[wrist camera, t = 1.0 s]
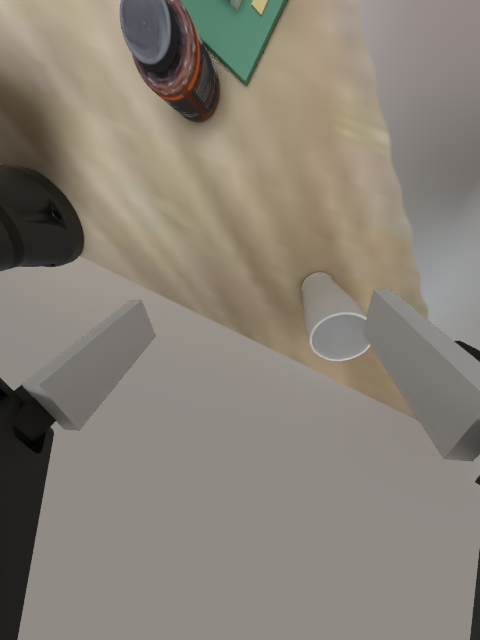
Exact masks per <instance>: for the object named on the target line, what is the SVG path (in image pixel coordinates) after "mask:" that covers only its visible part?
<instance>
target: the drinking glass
mask: <svg viewBox="0 0 480 640" xmlns="http://www.w3.org/2000/svg"><path fill="white" fill-rule="evenodd" d="M301 291H302V296H303V309H304V323H305V329H306V333H307V337H308V340H309V343H310V346H311V348H312V350H313V351H314V352H315V353H316V354H317V355H318V356H320V357H322V358H324V359H327V360H332V361H344V360H349V359H352V358H355V357H357V356H359V355H361V354H362V353H364V352H365V351H366V350H367V349H368V348H369V347H370V344H369V343H368V341H367V340H366V338H365V337H364V335H363V330H364V326H365V322H366V318H367V315H366V313H365V312H364V310H363V309H362V308H361V306H360V305H359V304H358V303H357V302H356V301H355V300H354V299H353V298H352V297H351V296H350V295H349V294H348V293H347V292H346V291H345V290H344V289H343V288H341V287H340V286H339V285H338V284H337V283H336V282H335V281H334V279H333V278H332V277H331V276H330V275H329V274H327V273H324V272H316V273H313V274H311V275H309V276H308V277H307V278H306V279H305V280H304V281H303V283H302V287H301Z"/></svg>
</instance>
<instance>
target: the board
mask: <svg viewBox="0 0 480 640" xmlns="http://www.w3.org/2000/svg"><path fill="white" fill-rule="evenodd" d="M180 1H181V2H182V3H183V5H184V6H185V8H186V9H187V11H188V13H189V15H190V17H191V19H192V21H193V23H194V25H195V27H196V29H197V31H198V33H199V35H200V37H201V39H202V41H203V43H204V45H205V46H206V47H207V48H208V49H209V50H210V51H211V52H212V53H213V54H214V55H215V56H216V57H217V58H218V59H219V60H220V61H221V62H222V63H223V64H224V65H225V66H226V67H227V68H228V69H229V70H230V71H232V72H233V73H234V74H235V75H236V76H237V77H238V78H239V79H240V80H241V81H242V82H243V83H244V84H245V85H246V86H247V84H248V82H249V80H250V78H251V76H252V74H253V72H254V70H255V68H256V66H257V63H258V61H259V59H260V57H261V55H262V53H263V51H264V49H265V47H266V45H267V42H268V40H269V38H270V36H271V34H272V32H273V30H274V28H275V26H276V24H277V21H278V19H279V17H280V15H281V13H282V11H283V9H284V7H285V5H286V3H287V0H180Z"/></svg>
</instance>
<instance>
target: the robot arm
mask: <svg viewBox="0 0 480 640" xmlns="http://www.w3.org/2000/svg"><path fill="white" fill-rule="evenodd" d="M82 247H83V233H82V228H81V225H80V222H79V219H78V217H77V215H76V213H75V211H74V209H73V207H72V206H71V204H70V203H69V201H68V200H67V199H66V197H65V196H64V195H63V194H62V192H61V191H60V190H59V189H58V188H57V187H56V186H55V185H54V184H53V183H51V182H50V181H49V180H48V179H46V178H45V177H43V176H42V175H40V174H39V173H37V172H35V171H33V170H30V169H27V168H24V167H17V166H7V165H0V271H3V270H7V269H10V268H13V267H18V266H21V267H35V266H36V267H38V266H45V267H56V266H61V265H64V264H67V263H70V262H72V261H74V260H75V259H77V258H78V256H79V255H80V253H81V251H82ZM363 335H364V337H365V338H366V340H367V341H368V343H369V344H370V346H371V347H372V349H373V351H374V352H375V354H376V355H377V357H378V358H379V360H380V361H381V363H382V364H383V366H384V368H385V369H386V371H387V372H388V374H389V375H390V377H391V378H392V380H393V381H394V383H395V385H396V386H397V388H398V389H399V391H400V392H401V394H402V395H403V397H404V399H405V400H406V402H407V403H408V405H409V406H410V408H411V409H412V411H413V412H414V414H415V416H416V417H417V419H418V420H419V422H420V423H421V425H422V426H423V428H424V429H425V431H426V433H427V434H428V435H429V437H430V439H431V440H432V442H433V443H434V445H435V446H436V448H437V450H438V451H439V453H440V454H441V456H442V457H443V459H451V460H462V461H473V460H474V459H475V458H476V457H477V456H478V455H479V454H480V351H479V350H477V349H475V348H473V347H471V346H469V345H467V344H465V343H463V342H461V341H453V340H452V339H451V338H450V337H448V336H447V335H446V334H444V333H443V332H442V331H441V330H440V329H438V328H437V327H436V326H435V325H434V324H432V323H431V322H430V321H429V320H427V319H426V318H425V317H424V316H423V315H421V314H420V313H419V312H418V311H416V310H415V309H414V308H413V307H411V306H410V305H409V304H408V303H407V302H405V301H404V300H403V299H402V298H400V297H399V296H398V295H397V294H396V293H394V292H393V291H392V290H391V289H383V290H374V291H373V295H372V299H371V303H370V306H369V310H368V314H367V318H366V322H365V326H364V330H363ZM154 337H155V333H154V330H153V328H152V325H151V323H150V320H149V318H148V315H147V313H146V310H145V307H144V305H143V302H142V300H131V301H129V302H128V303H126V304H125V305H124V306H123V307H121V308H120V309H119V310H117V311H116V312H115V313H113V314H112V315H111V316H109V317H108V318H107V319H105V320H104V321H103V322H102V323H100V324H99V325H98V326H97V327H95V328H94V329H92V330H91V331H90V332H89V333H87V334H86V335H85V336H83V337H82V338H81V339H80V340H78V341H77V342H75V343H74V344H73V345H72V346H70V347H69V348H68V349H67V350H65V351H64V352H63V353H61V354H60V355H59V356H57V357H56V358H55V359H53V360H52V361H51V362H49V363H48V364H47V365H46V366H44V367H43V368H42V369H40V370H39V371H38V372H37V373H35V374H34V375H32V376H31V377H30V378H29V379H27V380H26V381H25V382H23V383H22V384H21V386H20V387H19V388H17V389H16V390H14V391H13V390H12V389H11V388H10V387H9V386H8V385H7V384H6V383H5V382H4V381H3V380H2V379H1V378H0V640H17V638H18V633H19V627H20V622H21V616H22V610H23V605H24V599H25V593H26V588H27V582H28V576H29V571H30V565H31V560H32V554H33V548H34V542H35V536H36V532H37V526H38V520H39V515H40V509H41V504H42V498H43V492H44V487H45V480H46V476H47V470H48V464H49V459H50V453H51V447H52V442H53V436H54V432H53V429H51V427H50V426H51V425H52V424H53V423H54V422H55V421H57V422H58V423H59V425H61V427H62V428H63V429H67V430H81V428H82V427H83V426H84V424H85V423H86V422H87V421H88V420H89V418H90V417H91V416H92V415H93V413H94V412H95V411H96V410H97V408H98V407H99V406H100V405H101V403H102V402H103V401H104V400H105V398H106V397H107V396H108V395H109V393H110V392H111V391H112V390H113V388H114V387H115V386H116V385H117V384H118V382H119V381H120V380H121V378H122V377H123V376H124V375H125V374H126V372H127V371H128V370H129V368H130V367H131V366H132V365H133V363H134V362H135V361H136V360H137V359H138V357H139V356H140V355H141V353H142V352H143V351H144V350H145V349H146V347H147V346H148V345H149V344H150V342H151V341H152V340H153V339H154ZM475 482H476V483H477V484H479V485H480V476H479V477H478V478H477V479H476V481H475ZM470 640H480V551H479V560H478V570H477V579H476V589H475V598H474V607H473V618H472V626H471V636H470Z"/></svg>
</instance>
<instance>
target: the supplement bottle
mask: <svg viewBox="0 0 480 640" xmlns="http://www.w3.org/2000/svg"><path fill="white" fill-rule="evenodd" d="M120 22H121V29H122V32H123V36H124V39H125V41H126V43H127V46H128V47H129V49H130V51H131V52H132V55H133V59H134V62H135V65H136V67H137V69H138V71H139V73H140V75H141V77H142V78H143V80H144V81H145V83H146V84H147V85H148V86H149V87H150V88H151V89H152V90H153V91H154V92H155V93H156V94H157V95H158V96H160V97H161V98H162V99H163V100H164V101H166V102H167V103H168V104H169V105H170V106H172V107H173V108H174V109H175V110H176V111H178V112H179V113H180V114H181V115H183V116H184V117H185V118H187V119H189V120H191V121H196V122H199V121H202V120H205V119H206V118H208V117H209V116H210V115H211V114H212V112H213V111H214V109H215V107H216V104H217V101H218V96H219V81H218V76H217V72H216V69H215V66H214V64H213V62H212V60H211V58H210V56H209V53H208V51H207V49H206V47H205V45H204V43H203V41H202V39H201V37H200V35H199V33H198V31H197V29H196V27H195V25H194V23H193V21H192V19H191V17H190V15H189V13H188V11H187V9H186V8H185V6H184V5H183V3H182V2H181V1H180V0H121V4H120Z"/></svg>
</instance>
